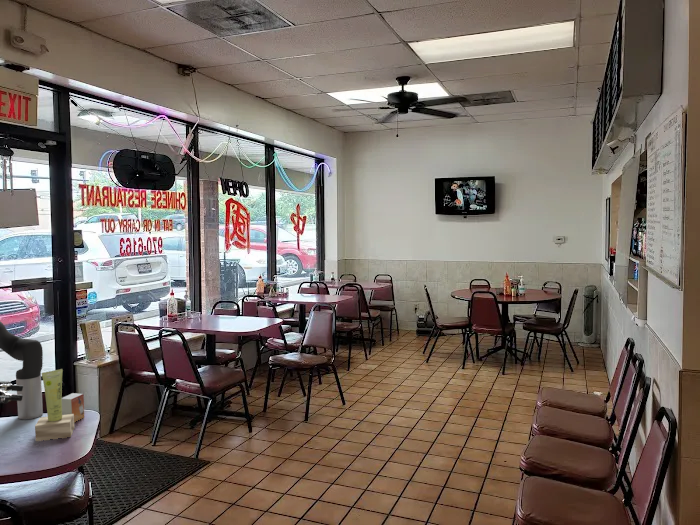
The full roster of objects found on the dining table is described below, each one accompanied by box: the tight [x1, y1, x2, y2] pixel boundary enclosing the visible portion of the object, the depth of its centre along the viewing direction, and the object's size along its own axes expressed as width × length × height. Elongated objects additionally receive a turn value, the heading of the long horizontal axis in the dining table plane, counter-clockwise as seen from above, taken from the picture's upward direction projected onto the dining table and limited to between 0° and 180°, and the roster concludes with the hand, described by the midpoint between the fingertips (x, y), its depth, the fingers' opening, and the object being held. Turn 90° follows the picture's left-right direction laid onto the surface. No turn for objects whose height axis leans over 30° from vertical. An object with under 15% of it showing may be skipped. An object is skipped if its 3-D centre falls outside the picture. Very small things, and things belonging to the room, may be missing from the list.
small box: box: [62, 392, 85, 424], centre depth 236 cm, size 8×6×10 cm
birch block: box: [34, 414, 75, 442], centre depth 221 cm, size 10×12×6 cm
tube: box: [41, 368, 64, 422], centre depth 220 cm, size 6×5×20 cm
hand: (22, 392), depth 219 cm, fingers open, 8 cm apart
